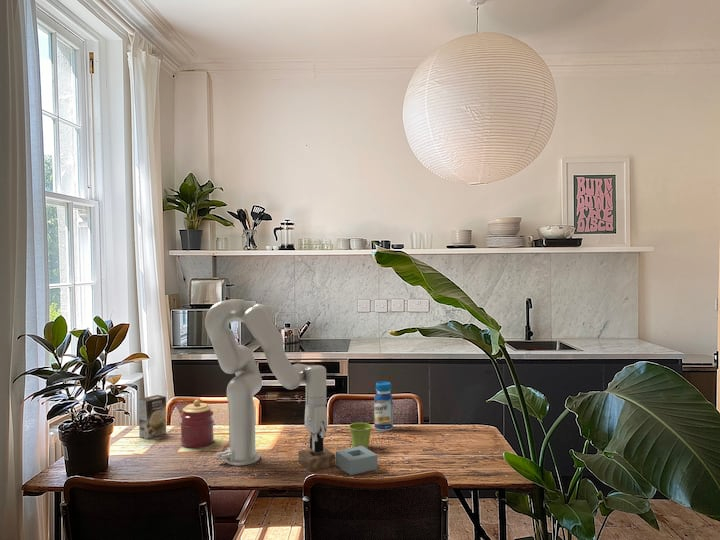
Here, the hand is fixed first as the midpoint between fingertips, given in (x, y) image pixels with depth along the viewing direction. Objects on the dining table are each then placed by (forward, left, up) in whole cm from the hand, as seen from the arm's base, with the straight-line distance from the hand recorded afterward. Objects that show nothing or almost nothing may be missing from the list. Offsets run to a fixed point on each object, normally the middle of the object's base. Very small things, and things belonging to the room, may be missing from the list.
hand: (316, 449), depth 198 cm
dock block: (+11, -10, -5) cm, 16 cm away
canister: (-32, +46, -6) cm, 56 cm away
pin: (0, 0, -5) cm, 5 cm away
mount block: (0, 0, -5) cm, 5 cm away
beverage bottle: (+43, +22, -6) cm, 49 cm away
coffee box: (-46, +66, -6) cm, 81 cm away
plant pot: (+22, +6, -6) cm, 23 cm away
